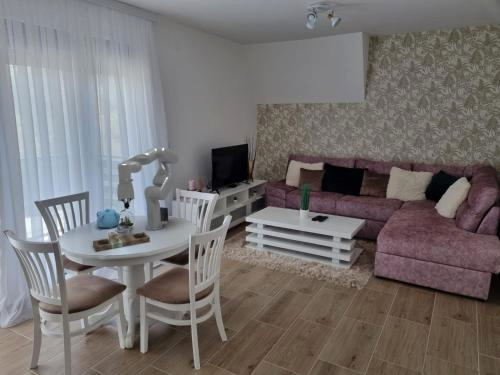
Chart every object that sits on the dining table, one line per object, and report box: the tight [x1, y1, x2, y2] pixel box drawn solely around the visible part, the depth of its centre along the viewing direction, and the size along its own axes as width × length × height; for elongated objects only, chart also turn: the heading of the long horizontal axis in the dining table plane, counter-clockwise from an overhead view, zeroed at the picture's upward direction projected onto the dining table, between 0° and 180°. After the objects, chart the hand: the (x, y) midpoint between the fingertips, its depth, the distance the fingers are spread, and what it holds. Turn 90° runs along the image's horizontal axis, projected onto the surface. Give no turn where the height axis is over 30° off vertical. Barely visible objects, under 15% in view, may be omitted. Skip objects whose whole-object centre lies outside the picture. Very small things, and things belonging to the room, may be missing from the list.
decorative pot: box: [96, 208, 121, 229], centre depth 268 cm, size 16×16×14 cm
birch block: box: [107, 231, 120, 243], centre depth 229 cm, size 5×6×5 cm
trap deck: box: [92, 231, 151, 252], centre depth 232 cm, size 33×13×3 cm, turn 122°
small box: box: [160, 206, 169, 222], centre depth 282 cm, size 11×6×10 cm, turn 71°
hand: (127, 208), depth 238 cm, fingers closed
